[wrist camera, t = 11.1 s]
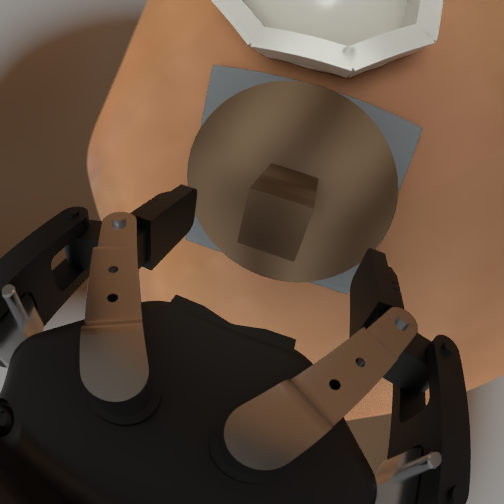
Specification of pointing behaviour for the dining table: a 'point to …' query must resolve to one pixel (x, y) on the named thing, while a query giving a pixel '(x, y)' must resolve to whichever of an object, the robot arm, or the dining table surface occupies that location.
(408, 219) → the dining table surface
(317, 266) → the lid
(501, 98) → the dining table surface
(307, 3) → the bowl
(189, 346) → the robot arm
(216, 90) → the mat
